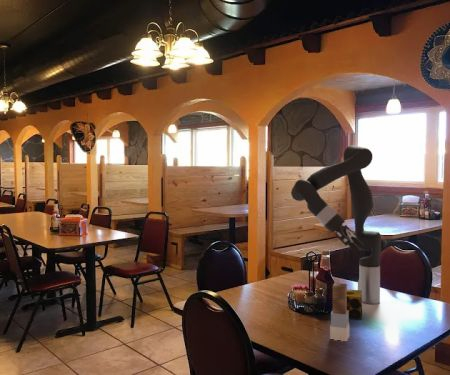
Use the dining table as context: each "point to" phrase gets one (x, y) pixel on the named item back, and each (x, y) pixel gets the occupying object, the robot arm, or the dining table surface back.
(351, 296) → the yellow patterned cube
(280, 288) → the dining table surface
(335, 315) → the block
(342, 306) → the pillar
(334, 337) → the tower base
